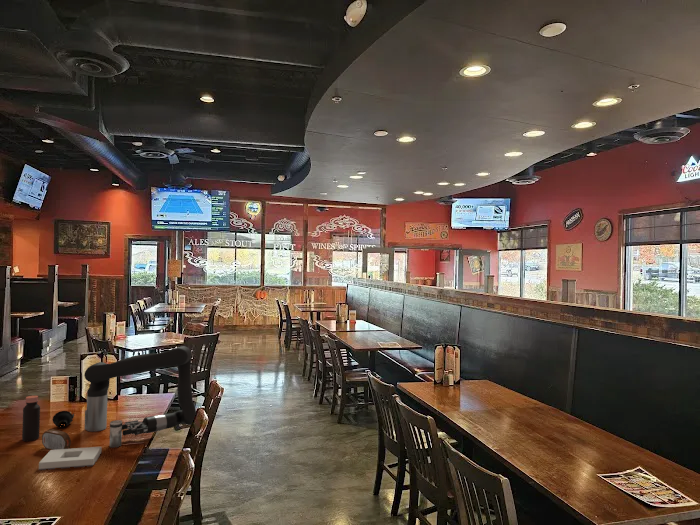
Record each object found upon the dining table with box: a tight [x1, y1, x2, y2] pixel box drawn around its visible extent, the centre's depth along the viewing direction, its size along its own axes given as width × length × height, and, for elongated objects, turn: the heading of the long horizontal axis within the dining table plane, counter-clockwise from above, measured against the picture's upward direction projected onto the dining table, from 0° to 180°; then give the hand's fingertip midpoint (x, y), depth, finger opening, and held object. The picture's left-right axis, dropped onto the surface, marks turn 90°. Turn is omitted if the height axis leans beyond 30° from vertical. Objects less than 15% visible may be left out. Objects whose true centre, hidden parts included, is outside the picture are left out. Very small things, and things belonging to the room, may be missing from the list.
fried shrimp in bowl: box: [51, 410, 75, 429], centre depth 249 cm, size 9×11×18 cm
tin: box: [41, 428, 72, 450], centre depth 216 cm, size 15×3×8 cm, turn 71°
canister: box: [108, 419, 123, 449], centre depth 222 cm, size 5×5×11 cm
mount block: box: [38, 446, 102, 471], centre depth 203 cm, size 20×14×3 cm
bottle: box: [21, 395, 41, 442], centre depth 228 cm, size 7×7×20 cm
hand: (119, 430), depth 223 cm, fingers open, 8 cm apart
